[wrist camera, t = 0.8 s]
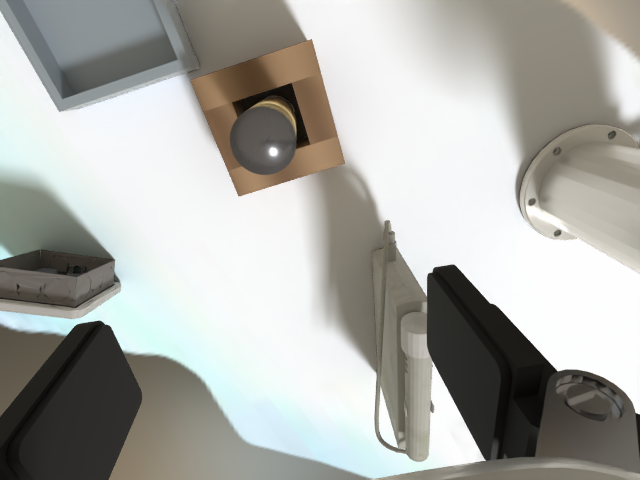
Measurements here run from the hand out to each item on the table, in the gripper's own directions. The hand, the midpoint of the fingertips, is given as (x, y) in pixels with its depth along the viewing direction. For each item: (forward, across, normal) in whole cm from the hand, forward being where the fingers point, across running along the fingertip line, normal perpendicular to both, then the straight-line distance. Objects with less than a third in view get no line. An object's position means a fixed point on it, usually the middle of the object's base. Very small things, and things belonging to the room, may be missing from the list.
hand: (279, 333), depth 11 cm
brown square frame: (+28, 0, -3) cm, 28 cm away
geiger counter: (+28, -9, +20) cm, 35 cm away
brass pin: (+28, 0, -3) cm, 28 cm away
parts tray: (+28, +13, -13) cm, 34 cm away
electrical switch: (+29, +24, +9) cm, 39 cm away
